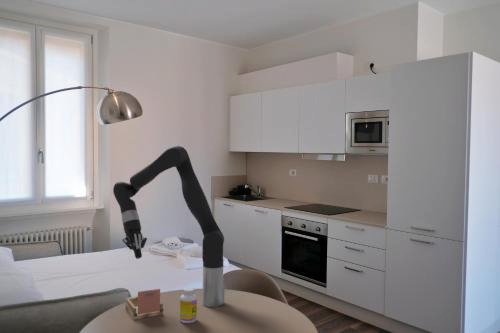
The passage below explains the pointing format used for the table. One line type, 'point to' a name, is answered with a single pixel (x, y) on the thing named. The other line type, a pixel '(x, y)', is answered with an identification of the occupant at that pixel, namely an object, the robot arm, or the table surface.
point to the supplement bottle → (188, 305)
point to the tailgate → (148, 301)
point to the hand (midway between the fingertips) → (139, 258)
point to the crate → (133, 309)
